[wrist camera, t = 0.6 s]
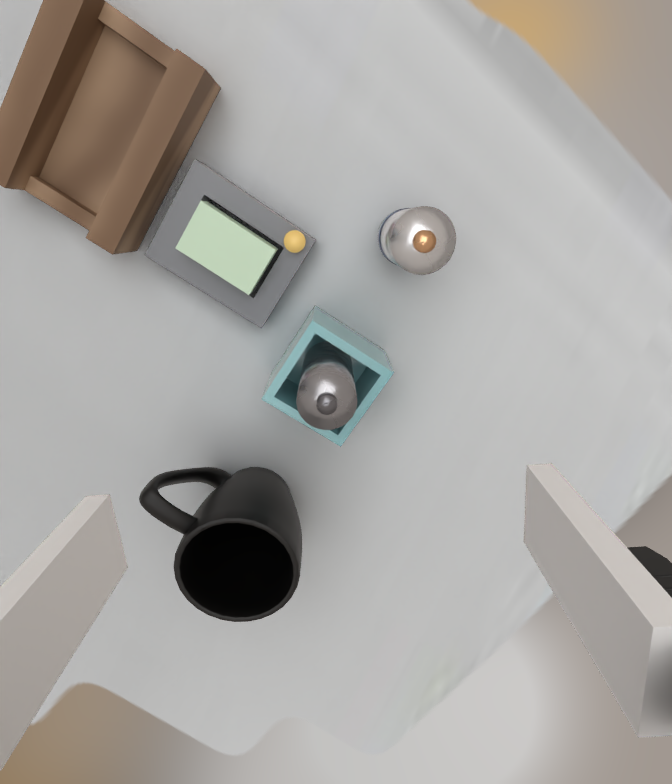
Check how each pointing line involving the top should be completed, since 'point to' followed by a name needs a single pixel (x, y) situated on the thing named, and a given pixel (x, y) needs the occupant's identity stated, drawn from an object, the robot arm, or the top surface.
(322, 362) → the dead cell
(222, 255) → the pale green block
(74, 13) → the trough
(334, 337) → the teal open bin
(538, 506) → the robot arm
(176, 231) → the frame
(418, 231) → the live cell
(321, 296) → the top surface
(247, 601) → the mug
